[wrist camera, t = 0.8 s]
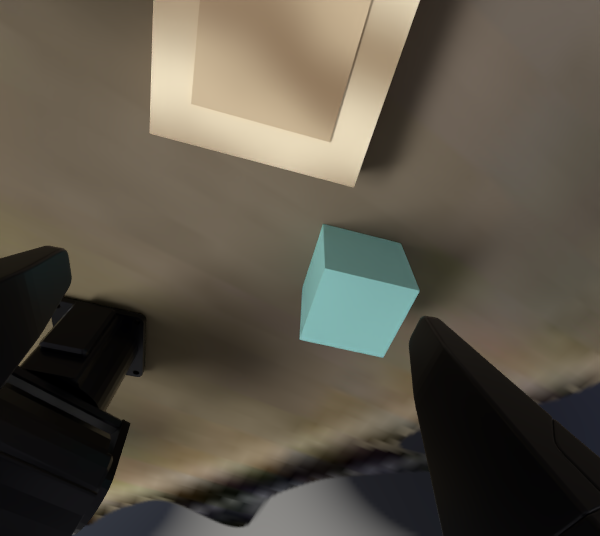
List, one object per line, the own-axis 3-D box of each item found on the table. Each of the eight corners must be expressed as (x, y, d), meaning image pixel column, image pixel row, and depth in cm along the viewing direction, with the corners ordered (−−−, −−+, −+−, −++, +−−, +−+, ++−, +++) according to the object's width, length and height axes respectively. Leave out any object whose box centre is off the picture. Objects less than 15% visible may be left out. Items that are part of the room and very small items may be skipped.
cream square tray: (349, 171, 20) (353, 188, 18) (168, 122, 19) (148, 133, 17) (429, -63, 15) (448, -80, 13) (182, -149, 14) (157, -183, 12)
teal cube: (372, 303, 25) (383, 357, 21) (302, 287, 25) (299, 339, 21) (400, 242, 23) (419, 290, 18) (323, 223, 22) (324, 268, 18)
